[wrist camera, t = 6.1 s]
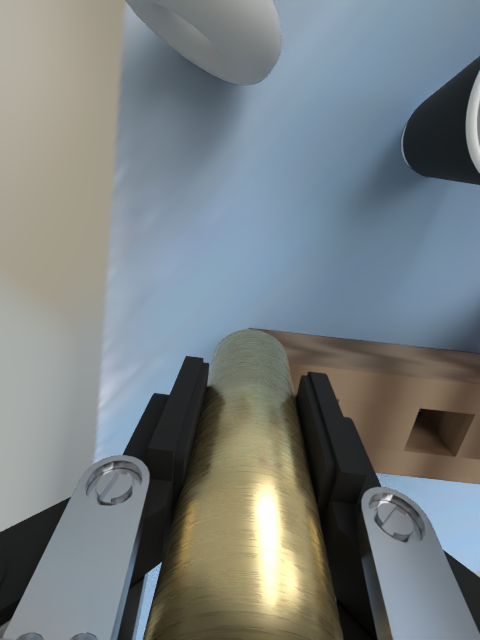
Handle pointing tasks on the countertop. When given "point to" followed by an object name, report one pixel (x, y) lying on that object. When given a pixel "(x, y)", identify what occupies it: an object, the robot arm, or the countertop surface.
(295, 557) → the brass peg
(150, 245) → the countertop surface
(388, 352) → the hole block
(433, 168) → the dixie cup
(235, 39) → the donut
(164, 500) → the robot arm
